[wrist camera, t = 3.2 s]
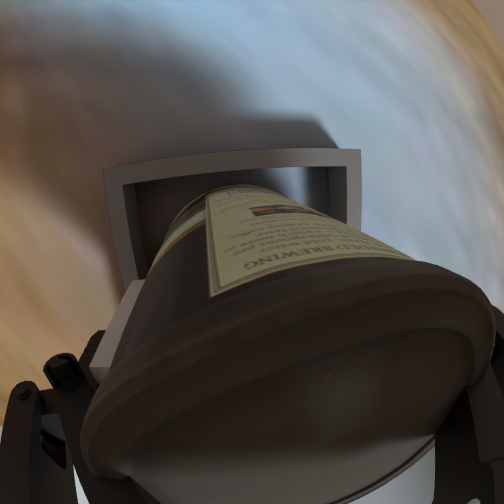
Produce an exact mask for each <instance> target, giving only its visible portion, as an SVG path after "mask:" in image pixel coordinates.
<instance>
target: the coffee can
mask: <svg viewBox="0 0 504 504" xmlns="http://www.w3.org/2000/svg"><path fill="white" fill-rule="evenodd" d="M495 336H496V322H495V315H494V311H493V307H492V305H491V303H490V301H489V299H488V298H487V296H486V295H485V293H484V292H483V291H482V290H481V288H479V287H478V286H477V285H476V284H474V283H473V282H472V281H470V280H469V279H467V278H465V277H463V276H461V275H458V274H456V273H454V272H452V271H450V270H447V269H445V268H443V267H440V266H438V265H434V264H431V263H427V262H422V261H417V260H415V259H413V258H411V257H409V256H408V255H406V254H404V253H402V252H400V251H398V250H396V249H394V248H392V247H391V246H389V245H387V244H385V243H383V242H381V241H379V240H377V239H375V238H373V237H371V236H369V235H367V234H365V233H363V232H361V231H359V230H357V229H355V228H353V227H350V226H348V225H346V224H344V223H342V222H340V221H338V220H336V219H333V218H331V217H329V216H327V215H325V214H323V213H320V212H318V211H316V210H314V209H311V208H309V207H307V206H304V205H302V204H300V203H298V202H296V201H293V200H291V199H289V198H286V197H285V196H283V195H282V194H280V193H278V192H276V191H274V190H272V189H268V188H265V187H262V186H257V185H251V184H233V185H226V186H221V187H218V188H214V189H212V190H209V191H206V192H204V193H203V194H201V195H199V196H198V197H196V198H195V199H193V200H192V201H190V202H189V203H188V204H187V205H186V206H185V207H184V208H183V209H182V210H181V211H180V212H179V213H178V214H177V215H176V217H175V218H174V220H173V221H172V223H171V224H170V226H169V228H168V230H167V232H166V234H165V237H164V240H163V243H162V245H161V247H160V249H159V251H158V253H157V255H156V257H155V260H154V262H153V264H152V266H151V269H150V271H149V273H148V275H147V278H146V280H145V282H144V284H143V286H142V288H141V290H140V292H139V294H138V297H137V299H136V302H135V304H134V307H133V309H132V311H131V313H130V316H129V318H128V321H127V323H126V325H125V328H124V331H123V333H122V336H121V339H120V342H119V344H118V347H117V349H116V352H115V355H114V358H113V361H112V364H111V366H110V369H109V372H108V375H107V376H106V378H105V379H104V380H103V382H102V383H101V384H100V386H99V387H98V389H97V390H96V392H95V394H94V396H93V399H92V401H91V403H90V405H89V407H88V410H87V413H86V415H85V418H84V421H83V425H82V429H81V435H80V446H81V452H82V455H83V458H84V461H85V463H86V465H87V467H88V469H89V471H90V472H91V474H93V475H95V476H96V477H97V478H98V477H107V478H113V479H126V478H127V477H128V476H131V477H132V478H133V479H134V480H135V481H136V482H137V483H138V484H139V485H141V486H142V487H143V488H144V489H145V490H146V491H147V492H148V493H149V494H150V495H152V496H153V497H154V498H155V499H156V500H158V501H159V502H160V503H161V504H348V503H350V502H352V501H355V500H357V499H359V498H361V497H363V496H365V495H367V494H369V493H370V492H372V491H374V490H376V489H378V488H380V487H381V486H383V485H385V484H386V483H388V482H389V481H391V480H392V479H394V478H395V477H397V476H398V475H400V474H401V473H403V472H404V471H405V470H407V469H408V468H410V467H411V466H412V465H413V464H415V463H416V462H417V461H418V460H419V459H421V458H422V457H423V456H424V455H426V454H427V453H428V452H429V451H430V450H431V449H432V448H433V447H434V446H435V434H436V432H437V430H438V429H439V427H440V426H441V424H442V423H443V421H444V420H445V418H446V417H447V415H448V414H449V412H450V411H451V409H452V407H453V406H454V404H455V402H456V401H457V399H458V397H459V396H460V394H461V393H462V391H463V389H464V388H465V387H466V386H469V387H470V386H472V385H473V384H475V383H476V382H477V381H479V380H480V379H484V376H485V374H486V371H487V369H488V366H489V364H490V361H491V357H492V354H493V350H494V344H495Z"/></svg>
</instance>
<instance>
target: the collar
mask: <svg viewBox="0 0 504 504" xmlns="http://www.w3.org/2000/svg"><path fill="white" fill-rule="evenodd" d="M309 166H328V184H329V217H331V218H333V219H336V220H338V221H340V222H342V223H344V224H346V225H348V226H350V227H353V228H355V229H357V230H359V231H361V209H362V174H361V149H338V148H277V149H253V150H237V151H224V152H213V153H203V154H194V155H186V156H178V157H171V158H164V159H157V160H151V161H145V162H139V163H133V164H128V165H123V166H117V167H112V168H108V169H103V175H104V184H105V192H106V199H107V206H108V212H109V219H110V225H111V230H112V236H113V241H114V246H115V251H116V255H117V260H118V264H119V269H120V273H121V277H122V281H123V285H124V289H125V292H126V291H127V289H128V287H129V286H130V284H131V282H132V281H134V280H143V279H146V278H147V275H148V273H149V270H148V265H147V260H146V255H145V250H144V244H143V239H142V233H141V227H140V220H139V214H138V207H137V199H136V192H135V183H137V182H143V181H150V180H156V179H163V178H170V177H178V176H185V175H194V174H203V173H212V172H222V171H233V170H246V169H261V168H280V167H309Z"/></svg>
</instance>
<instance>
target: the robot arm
mask: <svg viewBox="0 0 504 504" xmlns="http://www.w3.org/2000/svg"><path fill="white" fill-rule="evenodd" d="M145 280H146V279H143V280H134V281H132V282H131V284H130V286H129V287H128V289H127V291H126V293H125V295H124V297H123V298H122V300H121V302H120V304H119V306H118V308H117V310H116V312H115V314H114V316H113V318H112V320H111V321H110V323H109V325H108V327H107V330H98V331H97V332H96V333H95V334H94V335H93V336H92V337H91V338H90V340H89V342H88V344H87V346H86V347H85V349H84V353H82V355H81V357H80V359H79V361H77V359H76V357H75V356H74V355H73V354H70V353H61V354H57V355H55V356H53V357H51V358H50V359H49V360H48V361H47V362H46V364H45V365H44V368H43V372H44V373H45V375H46V377H47V379H48V380H49V382H50V383H51V385H52V387H53V388H52V389H47V390H41V391H39V389H38V387H37V386H36V384H35V383H34V382H32V381H24V382H20V383H19V384H17V385H16V386H15V387H14V388H13V389H12V392H11V394H10V397H9V401H8V406H7V410H6V414H5V419H4V424H3V430H2V436H1V442H0V504H78V499H77V493H76V486H75V478H74V468H73V464H74V467H75V470H76V473H77V475H78V478H79V481H80V483H81V486H82V488H83V490H84V493H85V495H86V497H87V499H88V502H89V504H161V503H160V502H159V501H158V500H156V499H155V498H154V497H153V496H152V495H150V494H149V493H148V492H147V491H146V490H145V489H144V488H143V487H142V486H141V485H139V484H138V483H137V482H136V481H135V480H134V479H133V478H132V477H131V476H128V477H127V478H126V479H113V478H107V477H98V478H97V477H96V476H95V475H93V474H91V472H90V471H89V469H88V467H87V465H86V463H85V461H84V458H83V455H82V452H81V446H80V435H81V429H82V425H83V421H84V418H85V415H86V413H87V410H88V407H89V405H90V403H91V401H92V399H93V396H94V394H95V392H96V390H97V389H98V387H99V386H100V384H101V383H102V382H103V380H104V379H105V378H106V376H107V375H108V372H109V369H110V366H111V364H112V361H113V358H114V355H115V352H116V349H117V347H118V344H119V342H120V339H121V336H122V333H123V331H124V328H125V325H126V323H127V321H128V318H129V316H130V313H131V311H132V309H133V307H134V304H135V302H136V299H137V297H138V294H139V292H140V290H141V288H142V286H143V284H144V282H145ZM492 307H493V311H494V315H495V322H496V336H495V346H494V350H493V354H492V357H491V361H490V364H489V366H488V369H487V371H486V374H485V376H484V379H480V380H479V381H477V382H476V383H475V384H473V385H472V386H470V387H469V386H466V387H465V388H464V389H463V391H462V393H461V394H460V396H459V397H458V399H457V401H456V402H455V404H454V406H453V407H452V409H451V411H450V412H449V414H448V415H447V417H446V418H445V420H444V421H443V423H442V424H441V426H440V427H439V429H438V430H437V432H436V434H435V490H434V499H433V502H432V504H504V314H503V313H502V312H501V311H500V310H499V309H498V308H496V307H495V306H493V305H492Z"/></svg>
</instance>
